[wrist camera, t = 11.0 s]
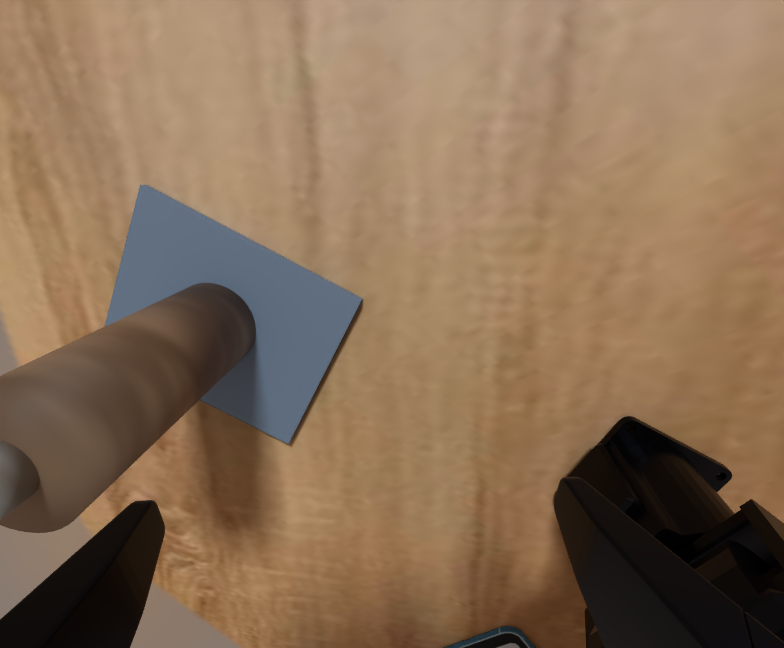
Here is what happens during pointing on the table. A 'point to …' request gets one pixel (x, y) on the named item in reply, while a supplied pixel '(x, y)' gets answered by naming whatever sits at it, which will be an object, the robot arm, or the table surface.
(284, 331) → the placemat
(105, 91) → the table surface
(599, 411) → the table surface
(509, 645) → the smartphone
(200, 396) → the pepper mill
